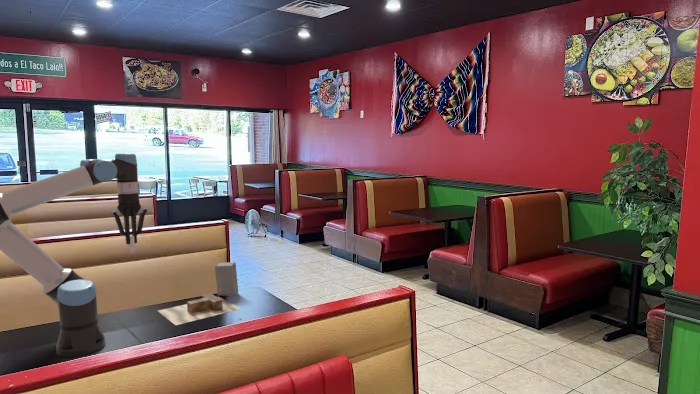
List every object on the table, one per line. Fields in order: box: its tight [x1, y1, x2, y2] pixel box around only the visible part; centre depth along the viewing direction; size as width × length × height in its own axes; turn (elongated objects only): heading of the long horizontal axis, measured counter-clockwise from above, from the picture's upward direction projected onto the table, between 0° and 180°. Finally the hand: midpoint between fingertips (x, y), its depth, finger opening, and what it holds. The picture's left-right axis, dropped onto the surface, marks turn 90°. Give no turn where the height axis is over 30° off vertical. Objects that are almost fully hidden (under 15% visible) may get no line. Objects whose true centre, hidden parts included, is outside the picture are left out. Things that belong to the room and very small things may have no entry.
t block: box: [186, 293, 223, 313], centre depth 203 cm, size 12×12×4 cm
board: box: [157, 296, 242, 326], centre depth 203 cm, size 28×22×1 cm
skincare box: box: [214, 261, 239, 297], centre depth 224 cm, size 8×7×16 cm
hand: (132, 251), depth 188 cm, fingers closed
